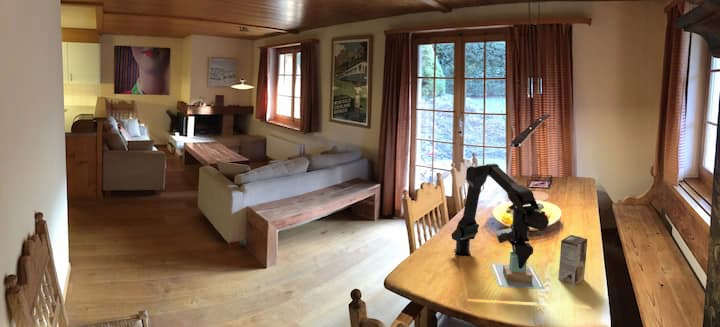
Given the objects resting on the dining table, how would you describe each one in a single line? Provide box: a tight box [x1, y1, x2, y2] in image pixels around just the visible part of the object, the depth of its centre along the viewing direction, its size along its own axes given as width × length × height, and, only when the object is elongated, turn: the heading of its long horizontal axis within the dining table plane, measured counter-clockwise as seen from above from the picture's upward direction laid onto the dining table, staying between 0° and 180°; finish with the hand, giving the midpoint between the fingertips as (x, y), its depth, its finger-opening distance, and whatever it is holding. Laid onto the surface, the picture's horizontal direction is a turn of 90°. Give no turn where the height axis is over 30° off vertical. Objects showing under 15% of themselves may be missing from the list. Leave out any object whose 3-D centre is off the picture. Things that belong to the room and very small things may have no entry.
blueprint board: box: [490, 263, 546, 290], centre depth 187 cm, size 22×16×1 cm
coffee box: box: [557, 234, 588, 286], centre depth 183 cm, size 9×6×16 cm
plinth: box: [503, 265, 533, 283], centre depth 185 cm, size 9×9×3 cm
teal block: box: [509, 251, 528, 273], centre depth 184 cm, size 5×5×6 cm
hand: (517, 263), depth 184 cm, fingers open, 9 cm apart
